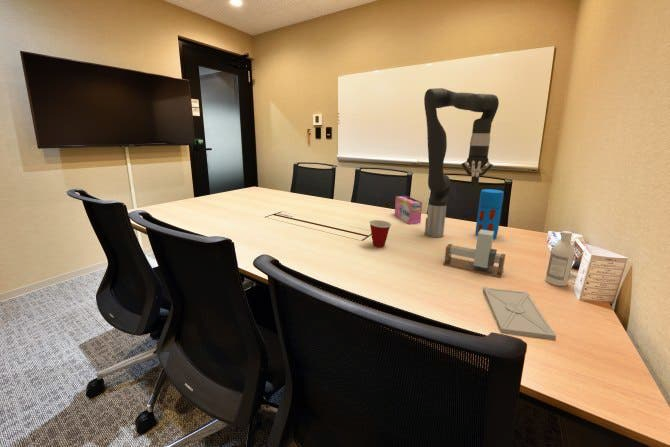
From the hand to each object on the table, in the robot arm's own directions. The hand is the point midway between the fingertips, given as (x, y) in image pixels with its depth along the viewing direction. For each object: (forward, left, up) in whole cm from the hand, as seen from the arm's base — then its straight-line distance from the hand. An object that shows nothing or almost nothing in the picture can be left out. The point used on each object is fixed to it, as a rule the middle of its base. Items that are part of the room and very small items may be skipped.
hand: (474, 185), depth 137 cm
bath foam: (+35, -13, -32) cm, 49 cm away
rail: (+6, -16, -32) cm, 36 cm away
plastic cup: (-38, -14, -32) cm, 52 cm away
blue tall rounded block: (+4, +31, -32) cm, 45 cm away
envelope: (+24, -45, -33) cm, 61 cm away
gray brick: (+13, -16, -29) cm, 35 cm away
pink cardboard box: (-44, +40, -32) cm, 68 cm away
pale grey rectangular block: (+9, -16, -30) cm, 35 cm away
